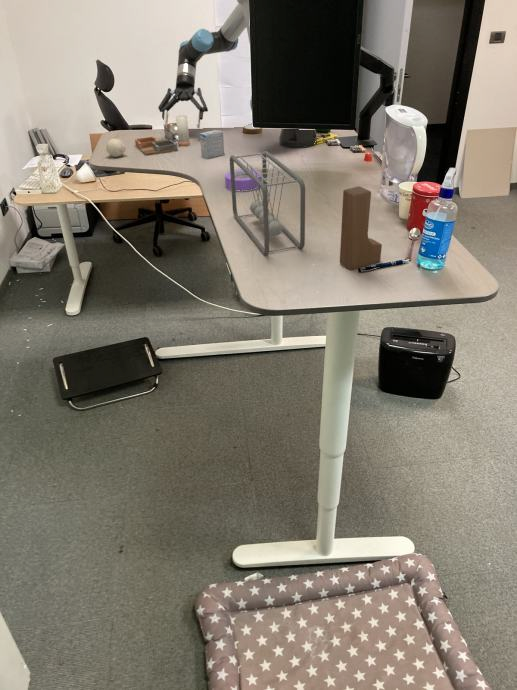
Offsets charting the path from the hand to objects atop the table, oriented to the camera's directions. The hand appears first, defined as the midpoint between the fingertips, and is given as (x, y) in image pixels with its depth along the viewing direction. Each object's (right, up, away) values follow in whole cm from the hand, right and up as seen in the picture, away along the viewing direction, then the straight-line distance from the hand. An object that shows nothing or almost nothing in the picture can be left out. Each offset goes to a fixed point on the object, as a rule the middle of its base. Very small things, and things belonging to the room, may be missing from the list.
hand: (181, 126), depth 220 cm
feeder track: (-4, 0, +12) cm, 13 cm away
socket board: (-10, -9, 0) cm, 13 cm away
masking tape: (+26, -36, -41) cm, 61 cm away
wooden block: (+55, -69, -91) cm, 127 cm away
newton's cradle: (+33, -58, -74) cm, 100 cm away
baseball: (-24, -15, -7) cm, 29 cm away
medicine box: (+14, -16, -12) cm, 24 cm away
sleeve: (+1, -7, +3) cm, 7 cm away
